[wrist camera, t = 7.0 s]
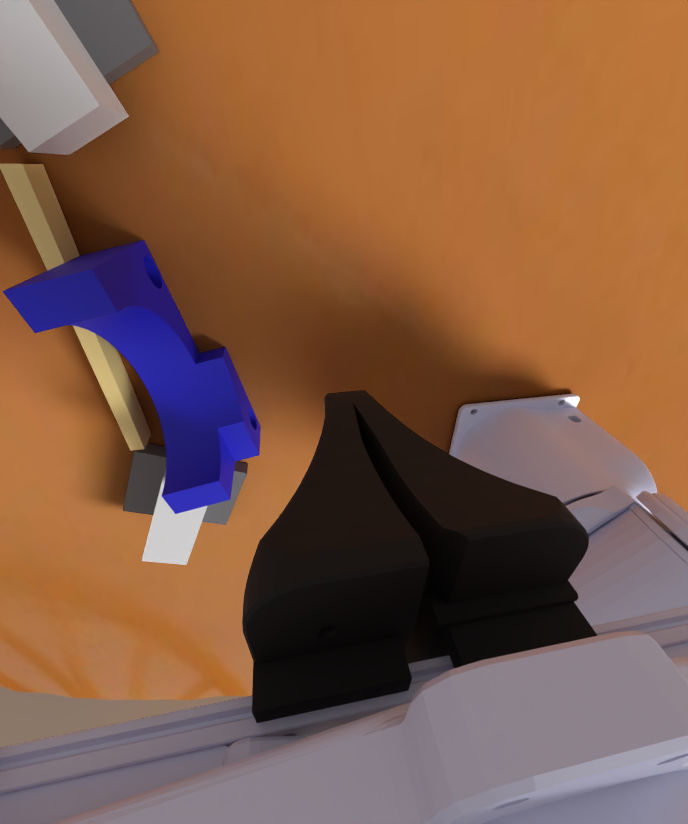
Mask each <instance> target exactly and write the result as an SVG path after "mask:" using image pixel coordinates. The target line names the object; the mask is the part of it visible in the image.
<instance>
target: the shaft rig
mask: <svg viewBox="0 0 688 824" xmlns="http://www.w3.org/2000/svg"><path fill="white" fill-rule="evenodd" d="M158 52H159V50H158V48H157V46H156V44H155V43H154V41H153V39H152V37H151V35H150V34H149V32H148V30H147V28H146V26H145V25H144V23H143V21H142V19H141V17H140V16H139V14H138V12H137V10H136V8H135V7H134V5H133V3H132V1H131V0H0V148H3V149H14V148H15V147H17V146H18V145H20V144H21V143H22V144H23V146H24V147H25V148H26V149H27V150H28V152H34V153H48V154H62V155H70V154H72V153H73V152H75V151H77V150H78V149H80V148H81V147H83V146H84V145H86V144H87V143H89V142H90V141H92V140H93V139H95V138H97V137H98V136H100V135H101V134H103V133H104V132H106V131H107V130H109V129H110V128H112V127H114V126H115V125H117V124H118V123H120V122H121V121H123V120H124V119H126V118H127V117H129V115H128V114H127V112H126V111H125V109H124V108H123V106H122V104H121V103H120V101H119V100H118V98H117V97H116V95H115V94H114V92H113V91H112V89H111V88H110V86H109V85H110V84H111V83H113V82H114V81H116V80H117V79H119V78H120V77H122V76H123V75H125V74H126V73H128V72H129V71H131V70H132V69H134V68H135V67H137V66H138V65H140V64H141V63H143V62H144V61H146V60H147V59H149V58H150V57H152V56H153V55H155V54H156V53H158ZM0 169H1V171H2V174H3V176H4V178H5V180H6V182H7V184H8V187H9V189H10V191H11V193H12V195H13V197H14V200H15V202H16V204H17V206H18V208H19V210H20V213H21V215H22V217H23V219H24V221H25V223H26V226H27V228H28V230H29V232H30V234H31V236H32V239H33V241H34V243H35V245H36V247H37V249H38V252H39V254H40V256H41V258H42V260H43V262H44V265H45V267H46V269H47V271H48V270H50V269H52V268H55V267H57V266H59V265H61V264H63V263H65V262H68V261H70V260H72V259H74V258H76V257H79V256H80V255H79V252H78V250H77V247H76V245H75V242H74V240H73V237H72V235H71V232H70V230H69V227H68V225H67V222H66V220H65V217H64V215H63V212H62V210H61V207H60V205H59V202H58V200H57V197H56V195H55V192H54V190H53V187H52V185H51V182H50V180H49V177H48V175H47V172H46V170H45V167H44V165H43V164H0ZM73 327H74V330H75V332H76V334H77V336H78V338H79V340H80V343H81V345H82V347H83V349H84V351H85V353H86V356H87V358H88V360H89V362H90V364H91V366H92V369H93V371H94V373H95V375H96V377H97V379H98V382H99V384H100V386H101V388H102V390H103V392H104V395H105V397H106V399H107V401H108V403H109V405H110V408H111V410H112V412H113V414H114V416H115V418H116V421H117V423H118V425H119V427H120V429H121V431H122V434H123V436H124V438H125V440H126V442H127V444H128V447H129V449H130V451H131V450H135V451H134V455H133V460H132V466H131V471H130V476H129V481H128V486H127V492H126V497H125V502H124V507H123V511H128V512H135V513H143V514H150V515H153V519H152V523H151V526H150V530H149V534H148V538H147V542H146V546H145V550H144V554H143V558H142V561H149V562H160V563H170V564H181V565H187V562H188V559H189V556H190V553H191V551H192V548H193V545H194V542H195V539H196V537H197V534H198V531H199V528H200V525H201V523H202V522H208V523H216V524H223V525H226V523H227V521H228V518H229V516H230V514H231V511H232V509H233V506H234V504H235V501H236V499H237V496H238V494H239V492H240V489H241V487H242V484H243V482H244V479H245V477H246V475H247V466H248V463H243V462H238V461H235V466H234V474H233V483H232V491H231V499H230V500H227V501H223V502H219V503H216V504H212V505H208V506H204V507H201V508H197V509H193V510H189V511H186V512H182V513H178V514H175V513H174V512H173V510H172V509H171V508H170V506H169V505H168V504H167V503H166V501H165V500H164V499H163V497H162V492H163V489H164V484H165V477H166V447H165V446H160V445H155V444H150V443H148V440H149V438H150V436H151V431H150V429H149V426H148V424H147V421H146V419H145V416H144V414H143V411H142V409H141V406H140V404H139V401H138V399H137V397H136V394H135V392H134V389H133V387H132V384H131V382H130V379H129V377H128V374H127V372H126V369H125V367H124V364H123V362H122V359H121V357H120V354H119V352H118V350H117V349H116V348H115V347H114V346H113V345H111V344H110V343H109V342H108V341H106V340H105V339H103V338H102V337H100V336H99V335H97V334H95V333H93V332H91V331H89V330H87V329H84V328H81V327H78V326H73Z"/></svg>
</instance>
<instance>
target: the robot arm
mask: <svg viewBox="0 0 688 824" xmlns="http://www.w3.org/2000/svg"><path fill="white" fill-rule="evenodd" d="M578 402H579V397H578V396H577V395H576V394H564V395H555V396H545V397H535V398H525V399H515V400H505V401H495V402H485V403H475V404H466V405H463V406H462V407H461V408H460V409H459V411H458V416H457V420H456V425H455V429H454V433H453V438H452V442H451V447H450V451H449V454H448V453H446V452H444V451H443V450H441V449H439V448H438V447H436V446H434V445H433V444H431V443H429V442H428V441H426V440H425V439H423V438H422V437H420V436H419V435H418V434H416V433H415V432H413V431H412V430H411V429H409V428H408V427H406V426H405V425H404V424H403V423H401V422H400V421H399V420H398V419H396V418H395V417H394V416H393V415H392V414H390V413H389V412H388V411H387V410H386V409H385V408H384V407H382V406H381V405H380V404H379V403H378V402H377V401H376V400H375V399H374V398H373V397H371V396H370V395H369V394H368V393H367V392H366V391H365V390H362V391H351V392H340V393H329V394H327V395H326V396H325V420H324V425H323V430H322V433H321V437H320V440H319V443H318V446H317V449H316V452H315V454H314V457H313V459H312V462H311V464H310V466H309V468H308V470H307V472H306V474H305V476H304V478H303V480H302V482H301V484H300V486H299V487H298V489H297V491H296V492H295V494H294V495H293V497H292V498H291V500H290V502H289V503H288V505H287V506H286V508H285V509H284V511H283V512H282V513H281V515H280V516H279V518H278V519H277V520H276V521H275V523H274V524H273V525H272V526H271V528H270V529H269V530H268V531H267V533H266V534H265V535H264V536H263V538H262V539H261V540H260V542H259V544H258V547H257V550H256V553H255V556H254V559H253V562H252V565H251V568H250V571H249V575H248V579H247V583H246V588H245V594H244V603H243V621H242V623H243V633H244V636H245V639H246V641H247V644H248V647H249V650H250V653H251V655H252V658H253V661H254V665H253V694H252V696H248V697H243V698H238V699H233V700H228V701H224V702H219V703H214V704H209V705H204V706H200V707H194V708H190V709H185V710H180V711H175V712H170V713H165V714H161V715H155V716H151V717H146V718H141V719H136V720H131V721H126V722H122V723H117V724H112V725H107V726H102V727H97V728H92V729H87V730H83V731H78V732H73V733H68V734H63V735H59V736H53V737H49V738H44V739H39V740H34V741H29V742H24V743H19V744H15V745H10V746H5V747H0V824H688V512H687V511H685V510H684V509H683V508H682V507H680V506H679V505H678V504H677V503H675V502H674V501H673V500H672V499H670V498H669V497H668V496H666V495H665V494H660V493H657V489H656V485H655V482H654V480H653V477H652V475H651V473H650V471H649V470H648V468H647V467H646V465H645V464H644V463H643V461H642V460H641V459H640V458H639V457H638V456H637V455H636V454H634V453H633V452H632V451H631V450H629V449H628V448H627V447H626V446H624V445H623V444H622V443H621V442H619V441H618V440H617V439H615V438H614V437H613V436H612V435H610V434H609V433H608V432H606V431H605V430H604V429H603V428H601V427H600V426H599V425H597V424H596V423H595V422H594V421H592V420H591V419H590V418H589V417H587V416H586V415H585V414H583V413H582V412H581V411H580V410H578V409H577V408H576V406H577V404H578ZM473 409H474V411H472V410H473ZM471 411H472V412H471ZM653 515H654V516H655V517H654V516H653Z"/></svg>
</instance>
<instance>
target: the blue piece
mask: <svg viewBox="0 0 688 824" xmlns="http://www.w3.org/2000/svg"><path fill="white" fill-rule="evenodd" d="M3 292H4V294H5V295H6V296H7V298H8V299H9V300H10V301H11V303H12V304H13V305H14V307H15V308H16V309H17V310H18V312H19V313H20V314H21V316H22V317H23V318H24V320H25V321H26V322H27V323H28V325H29V326H30V327H31V329H32V330H33V331H34V332H35V333H37V332H41V331H45V330H49V329H53V328H57V327H61V326H65V325H73V326H78V327H81V328H84V329H87V330H89V331H91V332H93V333H95V334H97V335H99V336H100V337H102V338H103V339H105V340H106V341H108V342H109V343H110V344H111V345H113V346H114V347H115V348H116V349H117V350H118V351H119V352H120V353H121V354H122V355H123V356H124V357H125V358H126V359H127V360H128V361H129V363H130V364H131V365H132V366H133V368H134V369H135V370H136V372H137V373H138V375H139V376H140V378H141V379H142V381H143V383H144V384H145V386H146V388H147V390H148V392H149V394H150V396H151V398H152V400H153V402H154V405H155V407H156V410H157V413H158V416H159V419H160V422H161V426H162V430H163V435H164V440H165V447H166V477H165V484H164V489H163V492H162V497H163V499H164V500H165V501H166V503H167V504H168V505H169V506H170V508H171V509H172V510H173V512H174V513H175V514H178V513H182V512H186V511H189V510H193V509H197V508H201V507H204V506H208V505H212V504H216V503H219V502H223V501H227V500H230V499H231V491H232V483H233V474H234V466H235V461H239V460H242V459H246V458H250V457H254V456H258V455H259V449H260V425H259V422H258V420H257V418H256V416H255V413H254V411H253V409H252V406H251V404H250V402H249V400H248V397H247V395H246V393H245V390H244V388H243V386H242V384H241V381H240V379H239V377H238V374H237V372H236V370H235V367H234V365H233V363H232V361H231V358H230V356H229V354H228V351H227V349H226V347H223V348H219V349H215V350H211V351H207V352H203V353H199V351H198V349H197V347H196V345H195V343H194V341H193V339H192V337H191V335H190V332H189V330H188V328H187V326H186V324H185V322H184V320H183V318H182V316H181V314H180V312H179V310H178V308H177V306H176V304H175V302H174V300H173V298H172V296H171V294H170V292H169V290H168V288H167V286H166V284H165V282H164V280H163V277H162V275H161V273H160V271H159V269H158V267H157V265H156V263H155V261H154V259H153V257H152V255H151V253H150V251H149V249H148V247H147V245H146V243H145V241H144V240H141V241H137V242H133V243H129V244H125V245H121V246H117V247H113V248H109V249H105V250H101V251H97V252H93V253H89V254H85V255H81V256H79V257H76V258H74V259H72V260H70V261H68V262H65V263H63V264H61V265H59V266H57V267H55V268H52V269H50V270H48V271H46V272H44V273H41V274H39V275H37V276H35V277H33V278H31V279H28V280H26V281H24V282H22V283H20V284H18V285H15V286H13V287H11V288H9V289H7V290H4V291H3Z"/></svg>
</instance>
